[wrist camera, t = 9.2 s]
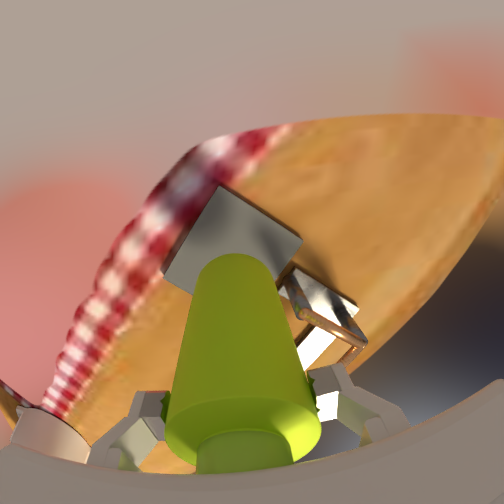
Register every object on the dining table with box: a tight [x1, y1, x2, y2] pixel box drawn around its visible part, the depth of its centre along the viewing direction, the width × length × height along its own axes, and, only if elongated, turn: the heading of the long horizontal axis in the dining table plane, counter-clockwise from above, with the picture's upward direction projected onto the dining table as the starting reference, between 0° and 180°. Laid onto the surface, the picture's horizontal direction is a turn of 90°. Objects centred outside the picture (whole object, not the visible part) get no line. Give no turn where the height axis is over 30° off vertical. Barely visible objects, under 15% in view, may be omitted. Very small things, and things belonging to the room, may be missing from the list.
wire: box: [277, 267, 368, 382], centre depth 26 cm, size 10×9×6 cm
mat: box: [163, 185, 304, 295], centre depth 26 cm, size 10×9×1 cm
